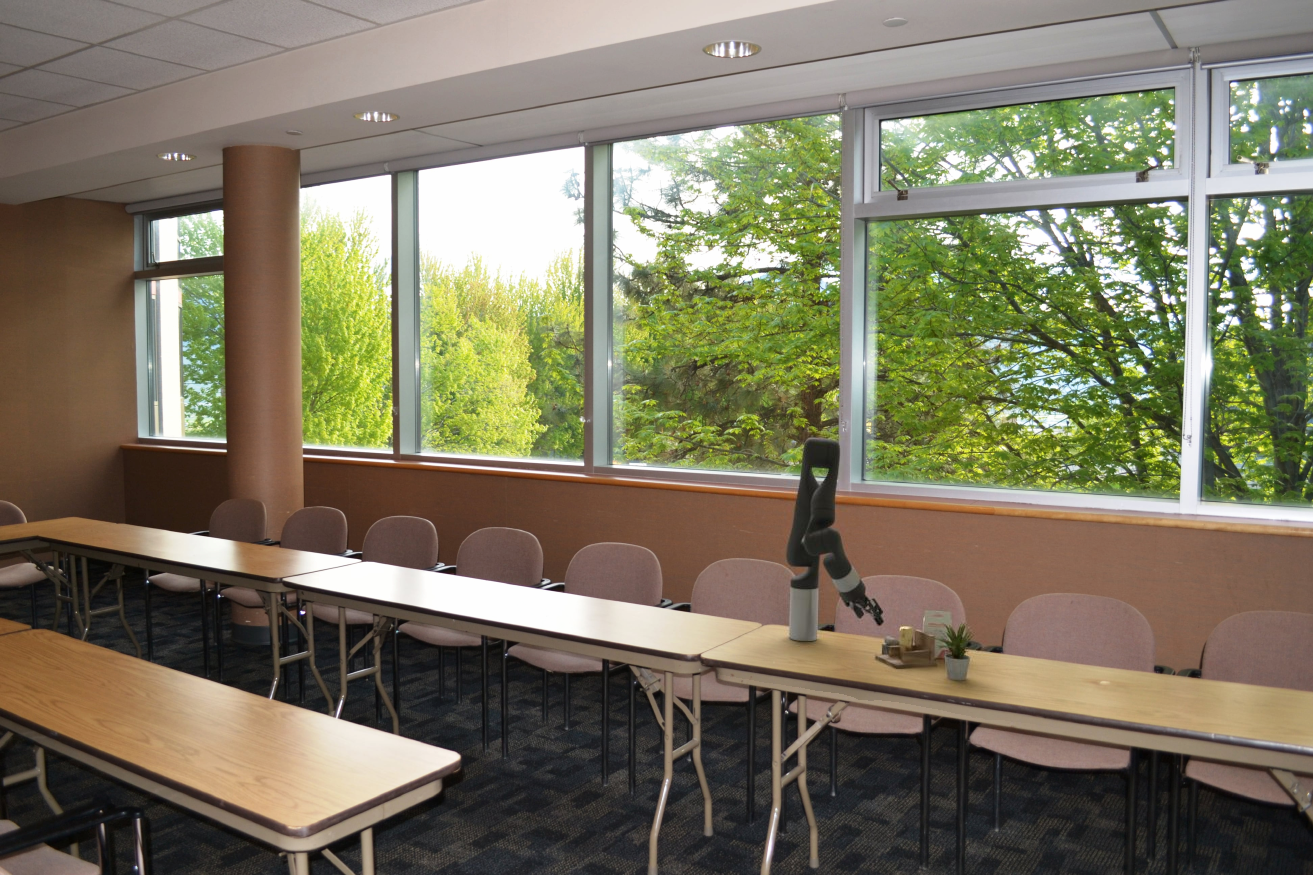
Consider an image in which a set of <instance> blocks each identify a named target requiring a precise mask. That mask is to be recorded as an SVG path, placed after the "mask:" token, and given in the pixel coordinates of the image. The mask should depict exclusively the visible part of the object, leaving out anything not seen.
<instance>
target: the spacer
mask: <svg viewBox="0 0 1313 875" xmlns="http://www.w3.org/2000/svg"><path fill="white" fill-rule="evenodd" d="M898 641H899V659H902V652H908V651H913V644H914V627H913V626H908V625H902V626H899V638H898Z"/></svg>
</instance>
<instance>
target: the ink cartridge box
mask: <svg viewBox="0 0 1313 875" xmlns="http://www.w3.org/2000/svg"><path fill="white" fill-rule="evenodd" d="M934 615H935V616H934ZM936 615H940V616H936ZM922 622H923V623H922V631H923V632H926V633H928V634H931V635H933V636H935V638H939V639H943V638H944V639H945V640H947V639H948V640H947V641H950V642H951V640H950V638H949V637H948V635H947V633H946V632H948V631H947V628H946V627H945V626H944V624H945V625H946V626H947V627H948V628H950V627H949V625H950V626H951V627H952V626H953V623H952V612H951V611H943V610H942V611H941V610H940V611H939V610H924V617H923V621H922ZM940 622H941V623H940ZM942 623H943V624H942ZM931 627H933V628H931ZM936 628H937V629H936ZM952 628H953V627H952ZM939 629H940V630H939ZM941 630H942V631H941ZM949 630H950V629H949ZM939 631H940V632H939ZM944 631H945V632H944ZM941 632H942V633H943V634H942V633H941ZM950 632H951V631H950ZM944 635H945V636H946V637H947V638H946V637H945V636H944ZM951 635H952V634H951ZM942 637H943V638H942ZM937 642H938V643H939V642H940V643H941V644H940V643H939V644H938V643H937ZM940 645H942V646H947V645H946V643H944V642H941V641H940V640H936V639H935V653H934V659H941V658H942V659H943V660H945V654H950V653H952V652H951V651H950V650H949V649H948V648H949V647H948V646H947V647H948V648H947V649H948V650H947V649H946V647H944V648H941V649H939V648H940V647H937V646H940ZM936 647H937V648H936Z"/></svg>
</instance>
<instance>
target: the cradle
mask: <svg viewBox="0 0 1313 875" xmlns="http://www.w3.org/2000/svg"><path fill="white" fill-rule="evenodd" d="M933 638H935V636H933V635H931V634H928V633H926V632H923V630H921V629H918V628H917V629H914V637H913V651H908V652H902V659H899V639H896V638H893V637H891V636H889V635H887V636H885V637H884V640H883V641H884V643H883V644H881V654H875V658H874V659H876V660H878V661H880V662H882V663H884V664H887V665H888V666H891V667H892V668H895V669H906V668H907V669H908V668H909V669H910V668H917V667H918V668H919V667H930V666H931V667H932V665H934V666H937V665H938V661H935V658H934V653H935V639H933Z"/></svg>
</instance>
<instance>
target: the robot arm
mask: <svg viewBox="0 0 1313 875" xmlns="http://www.w3.org/2000/svg"><path fill="white" fill-rule="evenodd" d="M803 444H804V445H803V450H802V457H801V469H800V477H799V484H798V487H797V488H798V489H797V494H796V498H795V505H794V511H793V518H792V519H793V520H792V524H791V525H792V526H791V530H790V534H789V538H788V541H787V545H786V551H785V553H786V554H785V557H786V562H787V564H788V565H789V566H790V567H795V568H797V567H798V568H807V569H806V570H805V571H804V572H803V573H800V574H798V575H795V576H793V577H791V579H790V585H789V586H790V587H789V588H790V589H789V590H790V593H789V596H790V598H789V599H790V601H789V602H790V603H789V618H788V619H789V622H788V624H789V625H788V626H789V628H788V636H789V639H791V640H793V641H798V642H814V641H816V640H818V626H819V623H818V620H819V616H818V615H819V581H820V580H819V578H820V563H821V562H820V561H821V556H822V555H825V556H824V558H823V560H822V565H823V567H824V569H825V571H826V572H827V574H828V575H829V577H830V579H831V581H832V584H833V585H834V587H835V588H836V589H837V591H838V595H839V596H840V598H841V601H842V602H843V603H844V605H845V607H846V608H849V609H851V610H852V611H853V612H854V614H855V616H856V617H857V618H858V619H862V617H863V616H864V615H865V614H869V615H870V616H871V617H872V619H873V620H874V623H875V624H876V625H877V626H879V627H881V626H882V625H883V623H884V622H885V621H884V619H883V617H882V615H883V614H884V611H883V609H882V607H881V606H880V604H879V603H878V601H877V600H876V599H875V598H874V597H872V598H871V599H869V597H868V596H867V595H866V591H867V590H866V585H865V584H864V582H863V581H862V579H861V577H860V576H859V573H858V572H857V570H856V569H855V568H854V566H853V565H852V564H851V562H850V560H849V559H848V557H847V555H846V553H845V549H844V546H843V540H842V536H841V534H840V532H839V531H838V530H837V529H836V528H834V527H832V526H833V525H834V524H835V522H836V494H837V485H838V480H839V479H838V477H839V469H840V460H841V446H840V443H839V441H838V440H836V439H833V438H823V437H808V438H807V439H806V440H805V442H804V443H803ZM812 468H816V469H826V470H828V471H827V475H826V476H825V478H824V480H823V481H822V482H821V483H820V484H819V482H818V480H817V479H816V477H815V475H814V471H813V469H812ZM867 608H868V609H867Z"/></svg>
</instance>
